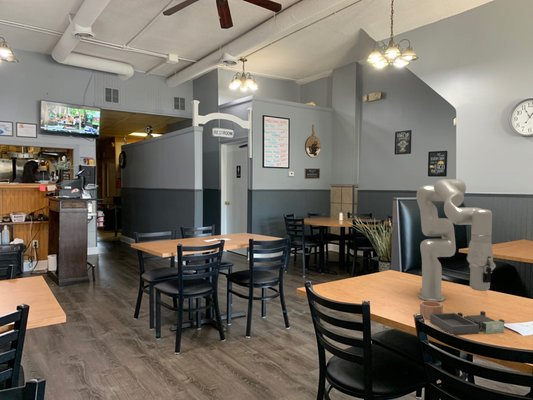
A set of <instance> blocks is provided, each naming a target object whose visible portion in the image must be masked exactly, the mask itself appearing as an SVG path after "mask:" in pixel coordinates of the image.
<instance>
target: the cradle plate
mask: <svg viewBox="0 0 533 400" xmlns="http://www.w3.org/2000/svg"><path fill="white" fill-rule="evenodd" d="M463 317H464V318H466V319H468V320H470V321H472V322H474V323H475V321H479V322H480V328H482V322H489V321H496V320H494V319H493V318H491V317H488V316H486V315H485V316H484V315H480V314H472V315H471V314H470V315H463Z"/></svg>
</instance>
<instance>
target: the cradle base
mask: <svg viewBox="0 0 533 400" xmlns="http://www.w3.org/2000/svg"><path fill="white" fill-rule="evenodd" d="M479 312H480V313H479V315H484V316H486V311H484V310H480V311H479ZM457 314H458V315H460V316H462V317H464V314H463V312H457ZM475 323H476V324H478V325H479V333H480V332H482V333H483V334H487V335H489V334H500V333H501V334H503V333H505V320H504V319H501V318H500V319H498V320H495V321H489V322H482V328H480V322H479V321H475Z"/></svg>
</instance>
